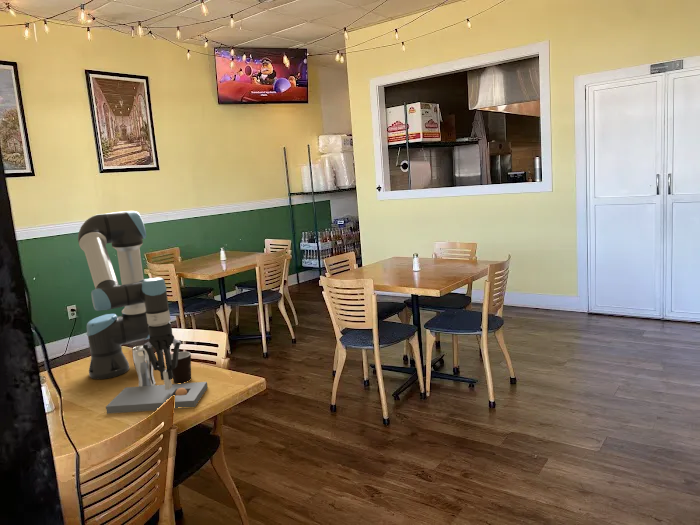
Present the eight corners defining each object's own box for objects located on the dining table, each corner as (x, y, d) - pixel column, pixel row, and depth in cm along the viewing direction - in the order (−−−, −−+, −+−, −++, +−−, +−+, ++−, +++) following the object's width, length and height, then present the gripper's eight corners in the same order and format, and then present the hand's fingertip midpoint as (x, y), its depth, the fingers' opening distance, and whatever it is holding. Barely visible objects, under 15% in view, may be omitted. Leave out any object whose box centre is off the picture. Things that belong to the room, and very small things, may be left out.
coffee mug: (187, 385, 204) (183, 359, 202) (166, 384, 206) (162, 359, 204) (201, 372, 215) (198, 348, 213) (181, 372, 217) (178, 348, 215)
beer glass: (160, 382, 208) (155, 345, 206) (147, 389, 202) (141, 351, 200) (147, 380, 211) (141, 343, 209) (133, 388, 205) (127, 349, 202)
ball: (174, 391, 193) (182, 383, 192) (183, 398, 194) (190, 390, 193) (171, 396, 189) (178, 388, 188) (180, 403, 190) (187, 395, 189)
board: (106, 413, 184) (105, 406, 184) (126, 393, 200) (125, 387, 200) (194, 407, 183) (194, 400, 183) (207, 388, 199) (206, 381, 199)
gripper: (136, 327, 183) (146, 393, 187) (174, 325, 183) (183, 391, 187) (144, 321, 191) (154, 385, 195) (181, 318, 190) (190, 382, 195)
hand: (168, 387), depth 191 cm, fingers closed
